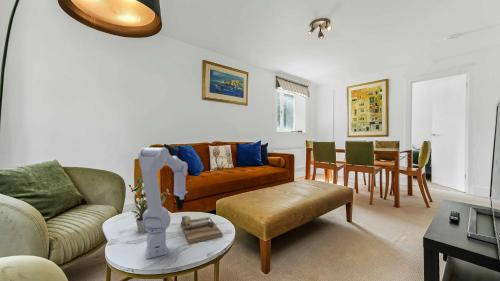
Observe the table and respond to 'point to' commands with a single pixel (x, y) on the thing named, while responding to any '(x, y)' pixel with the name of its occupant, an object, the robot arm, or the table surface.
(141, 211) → the house plant
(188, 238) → the walnut board
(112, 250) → the table surface
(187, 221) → the brass catch
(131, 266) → the table surface
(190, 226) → the clamp bar
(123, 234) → the table surface
